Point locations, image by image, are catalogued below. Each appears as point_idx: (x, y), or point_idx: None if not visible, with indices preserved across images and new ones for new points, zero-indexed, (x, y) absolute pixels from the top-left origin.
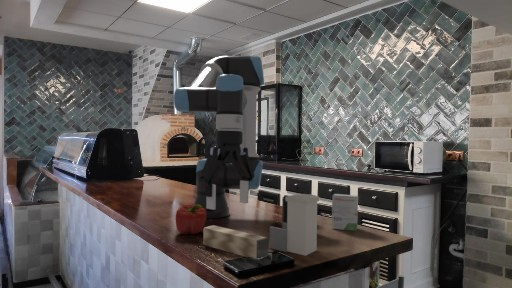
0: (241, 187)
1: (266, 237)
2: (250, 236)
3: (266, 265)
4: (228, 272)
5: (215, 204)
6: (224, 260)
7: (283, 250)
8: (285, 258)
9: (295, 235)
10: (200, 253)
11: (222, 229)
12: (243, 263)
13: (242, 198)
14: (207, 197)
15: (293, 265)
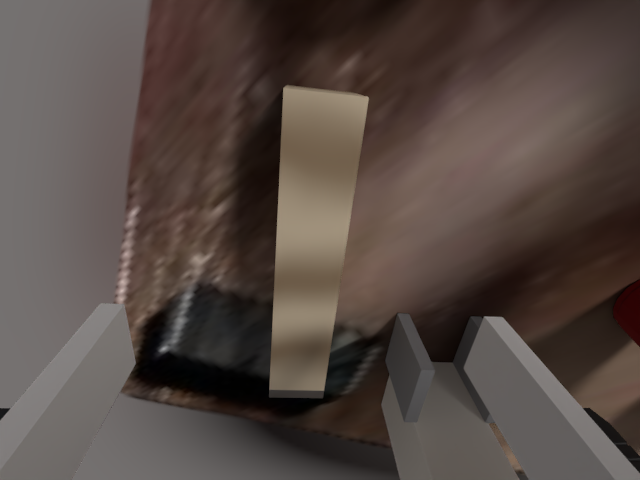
0: (566, 444)
1: (323, 391)
2: (299, 352)
3: (253, 376)
4: (139, 340)
5: (118, 393)
6: (200, 279)
7: (387, 357)
8: (333, 382)
9: (402, 431)
10: (188, 166)
11: (320, 205)
12: (222, 331)
13: (493, 362)
14: (42, 386)
15: (297, 413)
